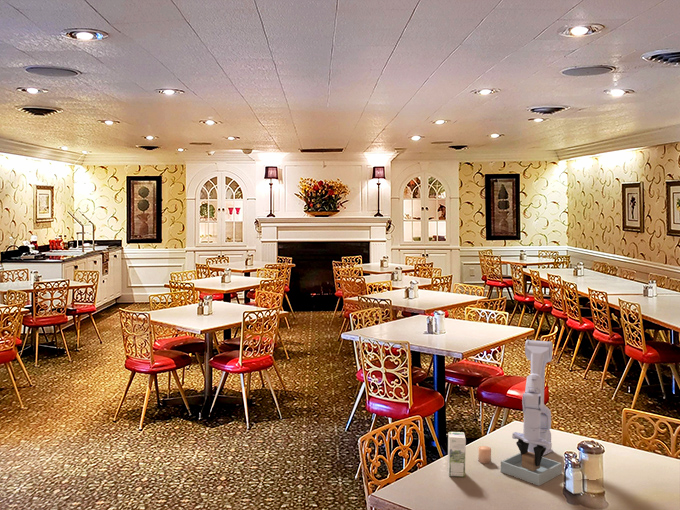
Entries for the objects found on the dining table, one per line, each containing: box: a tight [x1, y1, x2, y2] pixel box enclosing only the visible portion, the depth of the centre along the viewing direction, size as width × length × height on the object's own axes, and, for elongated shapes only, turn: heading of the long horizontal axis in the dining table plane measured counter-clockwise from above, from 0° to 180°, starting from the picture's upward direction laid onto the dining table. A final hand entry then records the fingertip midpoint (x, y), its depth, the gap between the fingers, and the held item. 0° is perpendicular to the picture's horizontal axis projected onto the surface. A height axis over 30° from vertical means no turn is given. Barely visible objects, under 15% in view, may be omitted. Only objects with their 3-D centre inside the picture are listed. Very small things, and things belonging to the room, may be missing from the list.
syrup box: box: [447, 431, 467, 478], centre depth 215 cm, size 6×6×14 cm
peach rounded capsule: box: [477, 445, 492, 465], centre depth 226 cm, size 5×5×5 cm
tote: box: [500, 452, 563, 487], centre depth 216 cm, size 15×15×4 cm
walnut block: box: [522, 452, 540, 471], centre depth 216 cm, size 5×5×5 cm
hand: (531, 463), depth 216 cm, fingers closed on walnut block, 4 cm apart
